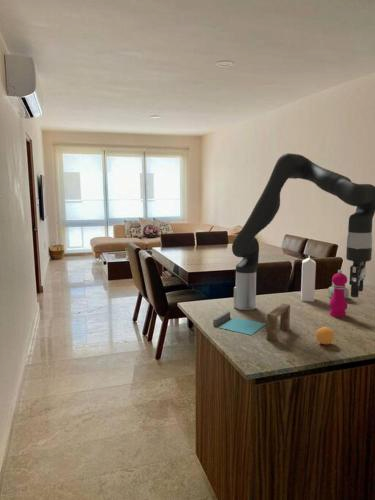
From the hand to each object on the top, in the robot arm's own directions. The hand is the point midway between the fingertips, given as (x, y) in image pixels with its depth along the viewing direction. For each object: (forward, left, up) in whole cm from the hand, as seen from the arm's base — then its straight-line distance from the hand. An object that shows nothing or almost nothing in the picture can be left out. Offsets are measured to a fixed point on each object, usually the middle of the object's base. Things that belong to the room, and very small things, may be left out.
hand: (356, 293), depth 125 cm
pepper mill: (-13, +33, -20) cm, 40 cm away
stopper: (-51, -1, -19) cm, 54 cm away
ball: (-9, -1, -16) cm, 19 cm away
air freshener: (-19, +59, -20) cm, 65 cm away
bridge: (-26, -1, -19) cm, 33 cm away
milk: (-31, +49, -20) cm, 61 cm away
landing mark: (-41, -1, -19) cm, 46 cm away
